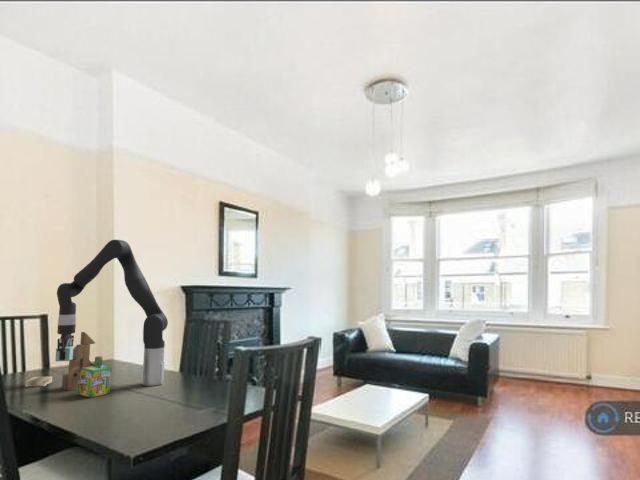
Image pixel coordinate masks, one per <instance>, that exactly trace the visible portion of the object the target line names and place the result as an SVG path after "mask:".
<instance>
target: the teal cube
mask: <svg viewBox="0 0 640 480" xmlns="http://www.w3.org/2000/svg"><path fill="white" fill-rule="evenodd" d="M74 348H75V346H74V345H73V346H71V347H66V351H65V359H64V360H59V357H60V352H59V351H58V347H57V348H55V361H54V362H69V360H71V359H73V349H74ZM61 349H62V348H61Z"/></svg>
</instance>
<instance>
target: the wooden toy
mask: <svg viewBox="0 0 640 480" xmlns="http://www.w3.org/2000/svg"><path fill="white" fill-rule="evenodd" d="M79 342H80V343H79V344H77V345H75V346H74V349H73V359H71V360H69V361H68V363H69V364H68V372H67V373H66V374H63V375H62V382H61V390H65V391H76V390H79V383H80V373H81V368H83V367H90V366H94V363H92V362H91V360H90V354H91V353H90V352H91V351H90V350H91V345H95V344H96V341H94V340H93V339H92V338H91V336H90V335H88V334H87V333H86V331H81V333H80V341H79ZM96 359H101V360H103V356H102V355H101V356H95V357H94V361H95V360H96ZM97 365H99V362H97ZM101 365H103V363H102V364H101Z"/></svg>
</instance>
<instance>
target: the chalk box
mask: <svg viewBox="0 0 640 480" xmlns="http://www.w3.org/2000/svg"><path fill="white" fill-rule="evenodd" d="M97 362H99V365H97ZM93 364H94V366H90V367H83V368H81V373H80V380H79V382H78V396H83V397H86V398H89V399H91V398H96V397H100V396H103V395H108V394H110V393H111V384H112V383H111V380H112V373H113V372H112V371H113V370H112V369H113V368H112V367H111V366H108V365H106V364H105V365H103V359H102V360H101V359H96V360H95V359H94V363H93ZM101 364H102V365H101Z"/></svg>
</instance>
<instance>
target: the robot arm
mask: <svg viewBox="0 0 640 480" xmlns="http://www.w3.org/2000/svg"><path fill="white" fill-rule="evenodd" d="M114 259H117V260H118V261H119V264H120V265H121V268H122V270H123V275H124V276H123V278H124V284H125V287H126V288H127V290H128V293H129V295H130V296H131V297H132V299H133V300H134V301H135V302H136V303H137V304H138V305H139V306H140V307H141V309H142V310H143V312H144V313H145V315H146V318H145V319H144V322H143V328H142V329H143V330H142V336H143V337H142V341H143V345H144V346H143V348H144V349H143V363H142V366H143V367H142V379H141V380H142V381H141V382H142V383H141V384H142V386H147V387H151V386H160V385H163V383H164V378H165V346H166V344H165V340H164V338H163V335H164V334H163V332H164V331H165V330H166V329H167V327H168V323H169V322H168V318H167V316H166V314H165V313H164V312H163V310H162V309H161V307H160V306H159V304H158V302H157V300H156V298H155V296H154V294H153V292H152V290H151V288H150V286H149V284H148V282H147V279H146V277H145V276H144V274H143V273H142V271H141V268H140V267H139V265H138V263H137V261H136V258H135V255H134V253H133V250H132V248H131V246H130V244H129V243H128V242H127V241H125V240H122V239H111V240H110V241H108V242H107V243H106V244H105V245H104V246H103V248H102V249H101V250H100V251H99V252H98V253H97V254H96V255H95V257H94V258H93V259H92V260H90V262H89V263H88V264H86V266H85V267H83V268H82V269H81V270H79V271H78V272H77V273H76V274H75V275H74V276H73V281H71V282H69V283H68V282H66V283H65V282H64V283H61V284H60V285H58V287H57V290H56V296H57V302H58V305H59V306H58V307H59V310H58V318H57V334H58V335H60V338H58V339H57V348H58V351H59V352H60V357H59V360H64V359H65V351H66V347H71V346H74V342H75V341H74V340H75V339H74V338H75V335H74V334H75V333H76V327H77V323H76V322H77V321H76V320H77V315H76V313H77V312H76V311H77V305H76V302H73V301H72V298H75V297H76V296H79V295H80V294H81V293H82V292H83V290H84V289H85V288H86V286H87V285H88V284H89V283H91V282H92V281H93V280H94V279H95V278H96V277H97V276H98V275H99V274H100V272H101V270H102V269H103V268H104V267H105V266H106V264H108V263H109V262H111V261H112V260H114ZM72 334H73V335H72ZM61 348H62V349H61Z"/></svg>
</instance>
